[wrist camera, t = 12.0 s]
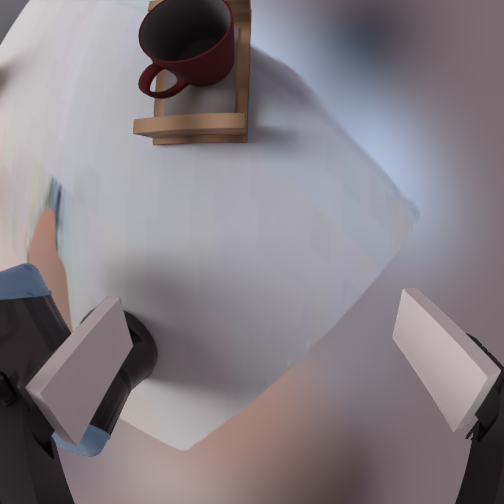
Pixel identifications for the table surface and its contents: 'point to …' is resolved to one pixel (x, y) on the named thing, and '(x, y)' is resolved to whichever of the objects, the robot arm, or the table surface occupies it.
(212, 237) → the table surface
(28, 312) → the robot arm
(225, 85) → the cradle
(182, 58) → the mug
